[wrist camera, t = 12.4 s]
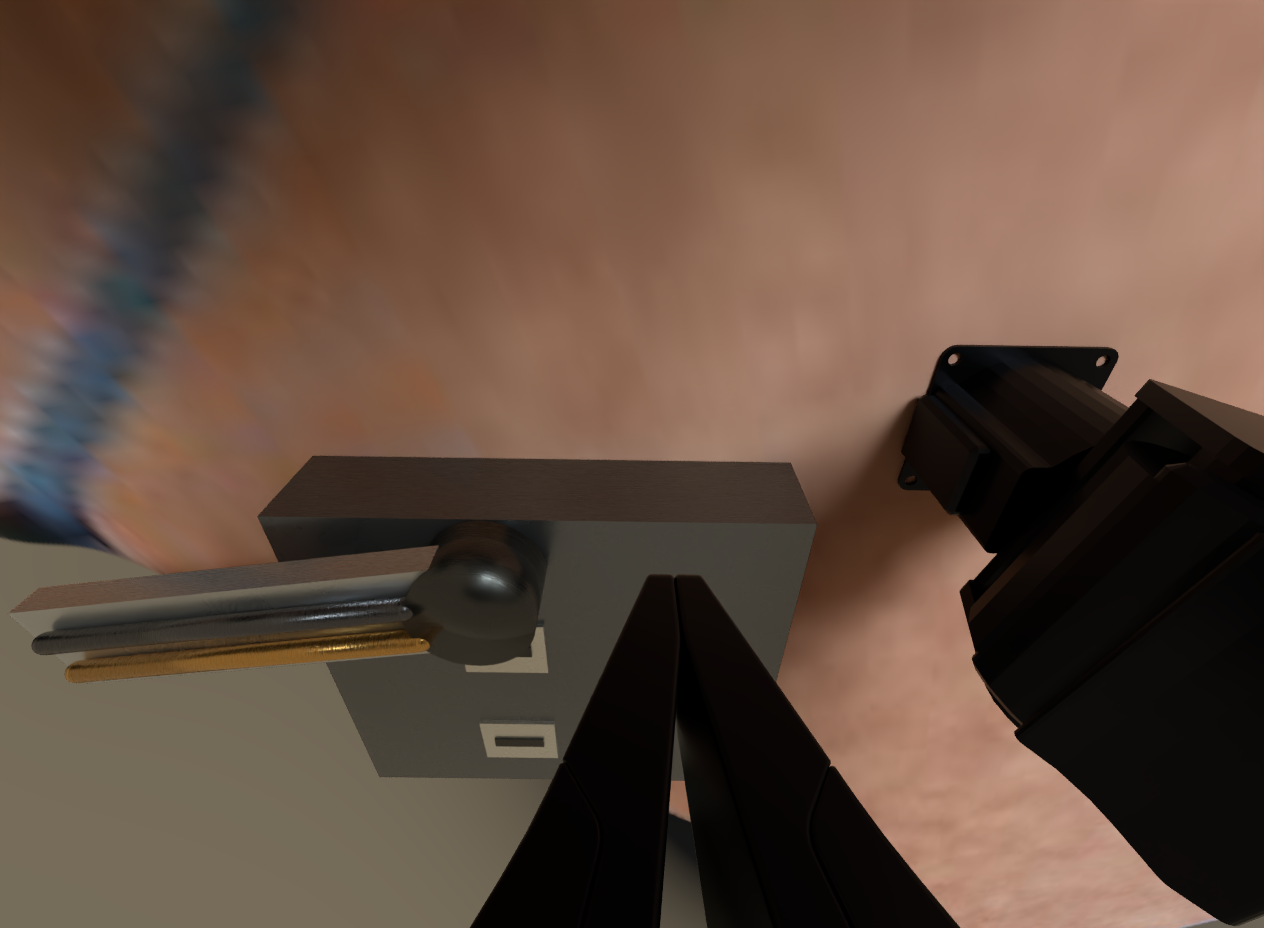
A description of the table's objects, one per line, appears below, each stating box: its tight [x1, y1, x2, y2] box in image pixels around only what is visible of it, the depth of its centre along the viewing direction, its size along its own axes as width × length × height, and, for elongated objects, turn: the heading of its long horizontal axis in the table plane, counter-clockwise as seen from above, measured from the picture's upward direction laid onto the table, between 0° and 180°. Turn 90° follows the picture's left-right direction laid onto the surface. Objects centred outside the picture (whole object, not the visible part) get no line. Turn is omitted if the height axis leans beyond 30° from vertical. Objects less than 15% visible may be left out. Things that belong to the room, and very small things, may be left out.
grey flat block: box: [257, 456, 817, 781], centre depth 26 cm, size 20×18×4 cm
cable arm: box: [8, 521, 546, 684], centre depth 20 cm, size 4×18×3 cm, turn 98°
